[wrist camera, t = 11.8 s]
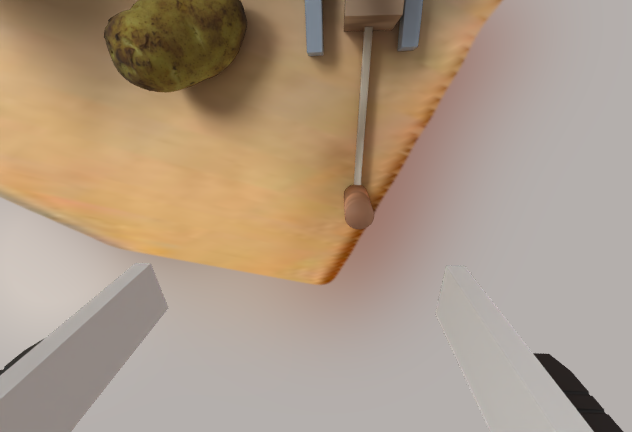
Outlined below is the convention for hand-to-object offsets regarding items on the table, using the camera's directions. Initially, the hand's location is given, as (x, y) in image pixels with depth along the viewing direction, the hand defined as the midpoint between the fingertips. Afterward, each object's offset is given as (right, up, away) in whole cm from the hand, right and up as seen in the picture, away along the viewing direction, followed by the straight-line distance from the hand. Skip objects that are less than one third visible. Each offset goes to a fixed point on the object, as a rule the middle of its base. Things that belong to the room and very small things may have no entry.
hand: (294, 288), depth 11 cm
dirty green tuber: (-12, +22, +17) cm, 31 cm away
